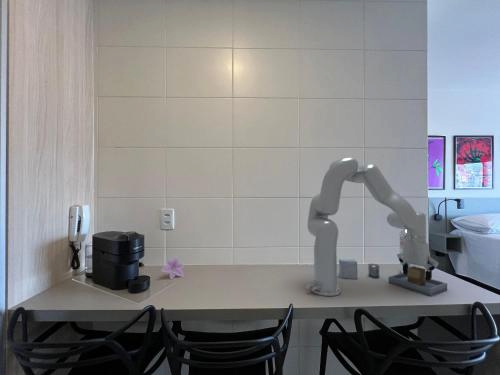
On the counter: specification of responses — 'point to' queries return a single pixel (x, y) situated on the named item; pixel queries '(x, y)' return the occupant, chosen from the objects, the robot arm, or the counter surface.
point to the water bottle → (402, 248)
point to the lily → (173, 267)
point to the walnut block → (416, 275)
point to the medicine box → (348, 268)
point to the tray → (428, 289)
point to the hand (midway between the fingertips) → (416, 276)
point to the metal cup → (373, 271)
